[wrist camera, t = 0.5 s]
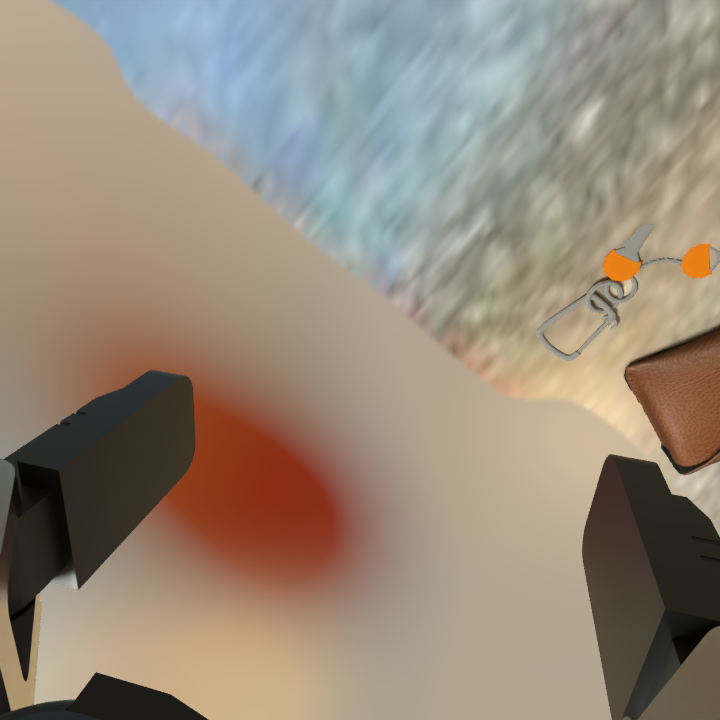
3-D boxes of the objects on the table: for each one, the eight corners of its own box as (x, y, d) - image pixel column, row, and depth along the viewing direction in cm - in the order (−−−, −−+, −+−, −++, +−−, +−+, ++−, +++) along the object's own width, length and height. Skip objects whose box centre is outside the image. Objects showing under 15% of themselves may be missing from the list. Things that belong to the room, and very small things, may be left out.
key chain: (596, 390, 38) (599, 396, 37) (518, 323, 36) (520, 328, 35) (775, 249, 32) (783, 253, 32) (692, 163, 31) (699, 166, 30)
